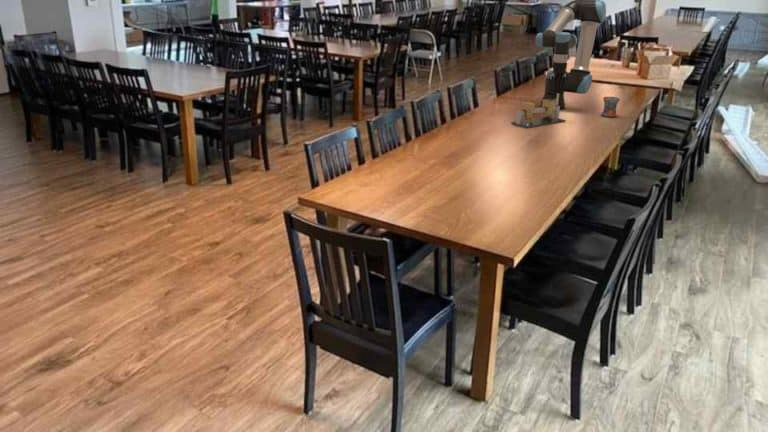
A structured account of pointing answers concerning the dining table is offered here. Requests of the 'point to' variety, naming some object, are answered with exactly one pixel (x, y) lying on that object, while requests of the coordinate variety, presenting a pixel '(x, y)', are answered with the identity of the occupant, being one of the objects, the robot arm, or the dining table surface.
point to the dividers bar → (530, 108)
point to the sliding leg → (549, 107)
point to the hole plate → (539, 122)
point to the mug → (610, 106)
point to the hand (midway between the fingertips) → (555, 104)
